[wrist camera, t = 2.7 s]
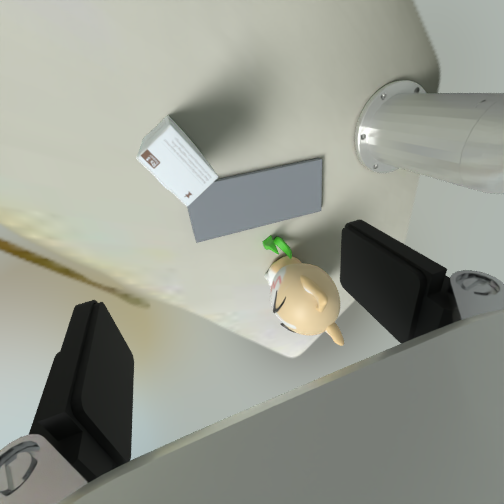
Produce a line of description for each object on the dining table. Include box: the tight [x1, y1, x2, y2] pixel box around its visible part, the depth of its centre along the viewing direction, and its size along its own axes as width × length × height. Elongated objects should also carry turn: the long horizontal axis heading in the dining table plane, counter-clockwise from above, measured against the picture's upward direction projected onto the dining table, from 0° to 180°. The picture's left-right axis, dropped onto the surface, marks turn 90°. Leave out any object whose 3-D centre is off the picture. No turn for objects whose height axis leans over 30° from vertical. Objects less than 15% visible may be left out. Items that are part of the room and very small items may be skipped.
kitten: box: [263, 235, 344, 346], centre depth 42 cm, size 15×10×15 cm, turn 24°
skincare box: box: [136, 115, 219, 206], centre depth 29 cm, size 6×4×12 cm
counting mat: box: [187, 158, 322, 243], centre depth 40 cm, size 20×8×1 cm, turn 97°
